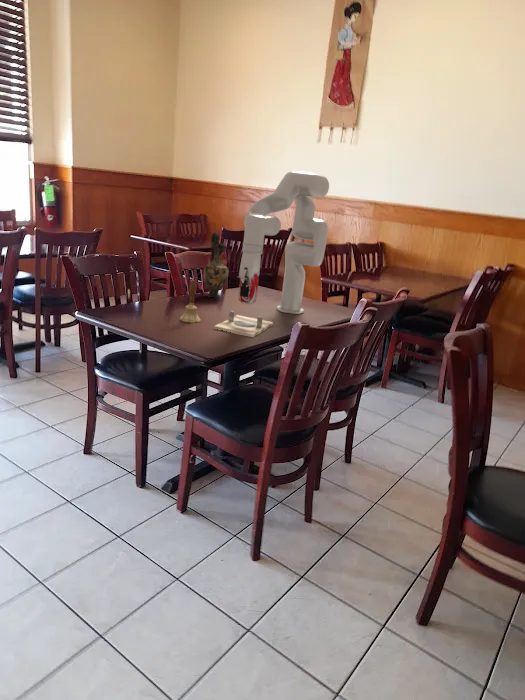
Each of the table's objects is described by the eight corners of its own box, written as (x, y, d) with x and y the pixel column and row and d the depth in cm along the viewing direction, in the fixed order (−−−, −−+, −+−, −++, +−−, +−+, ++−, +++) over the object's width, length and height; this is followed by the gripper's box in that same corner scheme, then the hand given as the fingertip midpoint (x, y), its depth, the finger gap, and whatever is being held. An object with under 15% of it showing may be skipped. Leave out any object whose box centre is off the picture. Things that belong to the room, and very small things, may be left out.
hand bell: (204, 319, 201) (207, 280, 196) (194, 324, 193) (197, 283, 188) (185, 315, 203) (188, 277, 198) (175, 320, 196) (178, 279, 191)
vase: (207, 299, 236) (212, 234, 226) (197, 293, 246) (202, 231, 236) (230, 299, 241) (235, 236, 232) (219, 293, 251) (224, 232, 242)
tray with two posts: (237, 317, 210) (238, 305, 208) (272, 325, 205) (274, 312, 203) (214, 329, 190) (215, 315, 188) (253, 337, 185) (254, 324, 184)
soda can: (235, 303, 192) (239, 272, 188) (240, 299, 198) (243, 269, 195) (253, 305, 190) (257, 274, 187) (257, 302, 197) (261, 272, 193)
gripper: (252, 245, 197) (247, 290, 202) (234, 248, 181) (229, 296, 187) (269, 248, 195) (264, 293, 200) (253, 251, 179) (248, 300, 184)
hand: (247, 294), depth 193 cm, fingers closed on soda can, 7 cm apart
